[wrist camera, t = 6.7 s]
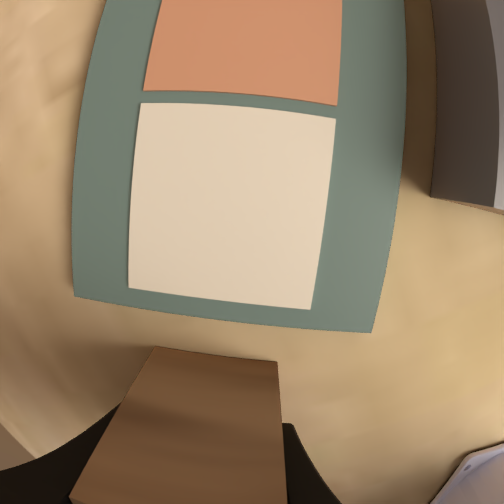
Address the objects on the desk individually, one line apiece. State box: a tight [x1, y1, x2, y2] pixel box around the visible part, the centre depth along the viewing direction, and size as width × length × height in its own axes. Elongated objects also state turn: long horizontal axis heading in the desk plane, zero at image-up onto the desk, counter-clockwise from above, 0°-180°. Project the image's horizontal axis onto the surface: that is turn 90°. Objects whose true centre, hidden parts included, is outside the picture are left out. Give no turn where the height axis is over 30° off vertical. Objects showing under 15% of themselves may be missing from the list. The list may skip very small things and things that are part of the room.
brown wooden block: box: [69, 346, 287, 504], centre depth 8 cm, size 4×4×7 cm
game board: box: [72, 0, 407, 333], centre depth 9 cm, size 13×10×1 cm
